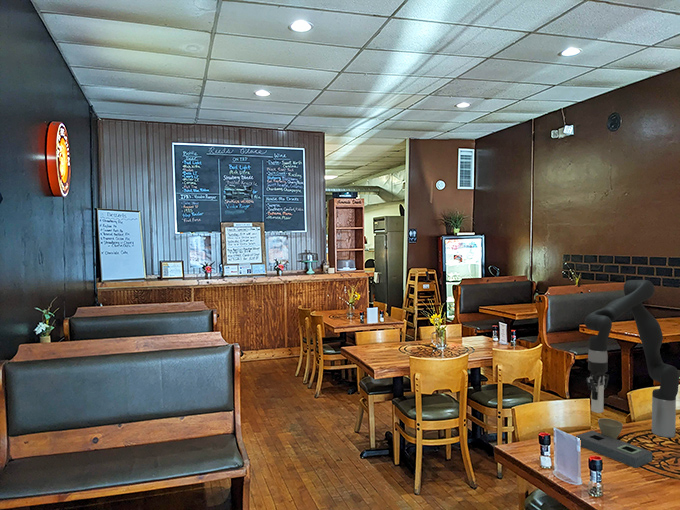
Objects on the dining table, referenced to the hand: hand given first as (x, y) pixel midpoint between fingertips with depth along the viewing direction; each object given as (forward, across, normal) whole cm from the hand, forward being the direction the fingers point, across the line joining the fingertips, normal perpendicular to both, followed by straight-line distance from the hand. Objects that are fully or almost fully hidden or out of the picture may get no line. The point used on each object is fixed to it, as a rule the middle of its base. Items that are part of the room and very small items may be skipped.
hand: (597, 398), depth 211 cm
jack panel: (+21, 0, +7) cm, 23 cm away
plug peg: (+6, 0, 0) cm, 6 cm away
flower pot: (+22, -15, -3) cm, 26 cm away
